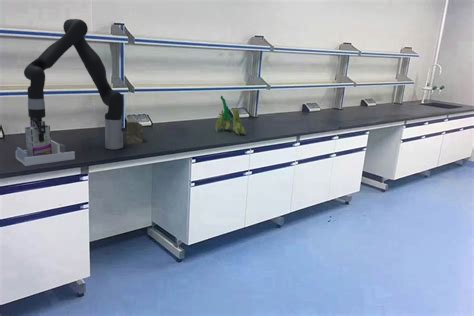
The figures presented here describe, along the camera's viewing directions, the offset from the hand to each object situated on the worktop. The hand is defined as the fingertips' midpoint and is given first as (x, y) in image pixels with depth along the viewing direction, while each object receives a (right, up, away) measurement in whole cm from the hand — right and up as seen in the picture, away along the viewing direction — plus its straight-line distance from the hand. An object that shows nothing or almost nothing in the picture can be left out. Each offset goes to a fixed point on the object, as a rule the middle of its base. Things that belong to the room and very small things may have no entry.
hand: (38, 139), depth 202 cm
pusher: (+6, -8, +9) cm, 13 cm away
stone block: (+33, +1, +53) cm, 62 cm away
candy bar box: (-1, -9, +3) cm, 10 cm away
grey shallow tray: (+1, -10, +5) cm, 11 cm away
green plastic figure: (+94, +9, +98) cm, 136 cm away
